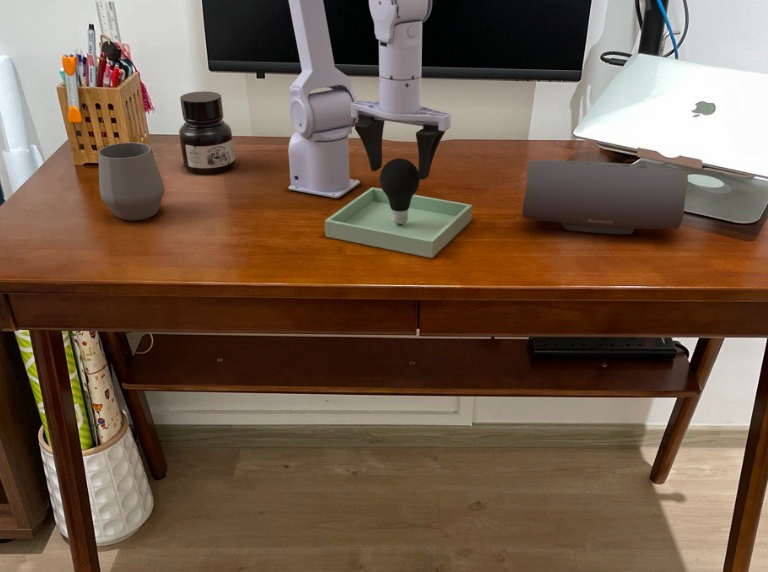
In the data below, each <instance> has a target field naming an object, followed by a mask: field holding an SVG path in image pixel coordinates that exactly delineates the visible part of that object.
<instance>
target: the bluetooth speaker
mask: <svg viewBox="0 0 768 572" xmlns="http://www.w3.org/2000/svg"><path fill="white" fill-rule="evenodd" d="M688 183H689V175H688V172H687V171H685V170H681V169H675V168H669V167H660V166H653V165H652V166H651V165H642V164H632V163H620V162H609V161H608V162H607V161H606V162H605V161H589V160H588V161H586V160H585V161H584V160H557V159H556V160H555V159H554V160H553V159H543V160H542V159H541V160H539V159H538V160H528V161H527V166H526V185H525V193H524V197H523V205H522V218H525V219H530V220H536V221H542V222H549V223H555V224H561V225H562V227H563V229H564V230H567V231H573V232H574V231H575V232H583V233H594V234H595V233H596V234H610V235H631V234H633V232H634V231H635V230H674V229H675V230H676V229H679V228H680V227H681V225H682V221H683V218H684V215H685V202H686V196H687V188H688Z"/></svg>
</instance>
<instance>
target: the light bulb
mask: <svg viewBox="0 0 768 572" xmlns="http://www.w3.org/2000/svg"><path fill="white" fill-rule="evenodd" d="M418 170H419V169H418V167H417V166H416V165H415V163H413V162H412V161H410V160H408V159H406V158H401V157H397V158H393V159H391V160H389V161H388V162H386V163H385V164H384V166H383V167H382V169H381V171H380V174H379V184H380V187H381V188H380V189H382V190H383V191H384V193H385V194H386V195H387V197H388V200H389V204H390V207H391V210H392V213H391V214H392V221H393V222H394V223H396V224H397V225H399V226H401V225H403V224H404V223H405V222H407V220H408V209H409V206H410V202H411V199H412V196H413V195H415V193H416V192H417V191H418V189H419V187H420V184H421V179H419V174H418Z"/></svg>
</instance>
